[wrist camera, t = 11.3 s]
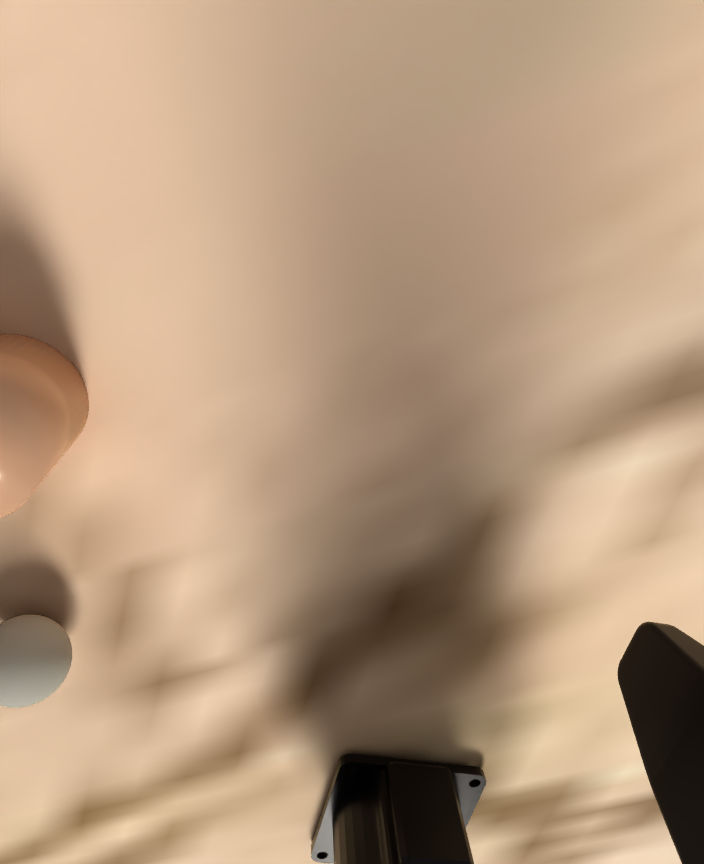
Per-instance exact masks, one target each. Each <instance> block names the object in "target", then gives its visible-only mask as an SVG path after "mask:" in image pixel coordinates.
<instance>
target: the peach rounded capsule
mask: <svg viewBox="0 0 704 864" xmlns="http://www.w3.org/2000/svg"><path fill="white" fill-rule="evenodd" d="M88 411H89V400H88V394H87V390H86V387H85V384H84V382H83V380H82V378H81V376H80V374H79V373H78V371H77V370H76V368H75V367H74V366H73V364H72V363H71V362H70V361H69V360H68V359H67V358H66V357H65V356H64V355H62V354H61V353H60V352H59V351H57V350H56V349H54V348H53V347H51V346H50V345H48V344H46V343H44V342H42V341H39V340H36V339H34V338H30V337H26V336H22V335H13V334H4V335H0V517H3V516H6V515H8V514H10V513H11V512H13V511H15V510H16V509H18V508H19V507H20V506H22V505H23V504H24V503H25V502H26V501H27V500H28V499H29V497H30V496H31V495H32V494H33V492H34V491H35V490H36V489H37V487H38V486H39V485H40V484H41V482H42V481H43V480H44V479H45V477H46V476H47V475H48V474H49V472H50V471H51V470H52V469H53V467H54V466H55V465H56V463H57V462H58V461H59V460H60V458H61V457H62V456H63V455H64V453H65V452H66V451H67V450H68V448H69V447H70V446H71V445H72V443H73V442H74V441H75V440H76V438H77V437H78V436H79V434H80V433H81V432H82V430H83V428H84V426H85V424H86V421H87V418H88Z"/></svg>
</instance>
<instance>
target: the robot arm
mask: <svg viewBox="0 0 704 864" xmlns="http://www.w3.org/2000/svg"><path fill="white" fill-rule="evenodd" d="M618 681H619V685H620V688H621V691H622V695H623V698H624V701H625V705H626V708H627V711H628V714H629V718H630V721H631V724H632V727H633V731H634V734H635V737H636V740H637V744H638V747H639V750H640V753H641V757H642V760H643V763H644V767H645V770H646V773H647V776H648V779H649V782H650V785H651V787H652V790H653V793H654V795H655V798H656V800H657V803H658V806H659V808H660V811H661V813H662V815H663V818H664V820H665V823H666V825H667V828H668V830H669V833H670V835H671V838H672V840H673V842H674V845H675V847H676V850H677V852H678V855H679V857H680V860H681V862H682V864H704V646H703V645H702V644H700V643H699V642H697V641H696V640H694V639H693V638H691V637H690V636H688V635H687V634H685V633H684V632H682V631H681V630H679V629H677V628H676V627H674V626H671V625H668V624H661V623H654V622H645V623H643V624H641V625H640V626H639V627H638V628H637V630H636V632H635V634H634V636H633V638H632V640H631V642H630V643H629V645H628V647H627V649H626V651H625V653H624V655H623V657H622V659H621V661H620V663H619V667H618ZM485 785H486V779H485V775H484V772H483V770H482V769H480V768H478V767H471V766H462V765H453V764H444V763H434V762H425V761H416V760H407V759H398V758H388V757H379V756H370V755H361V754H346V755H344V756H342V757H341V758H340V759H339V761H338V764H337V768H336V771H335V774H334V777H333V780H332V783H331V786H330V789H329V792H328V795H327V798H326V802H325V805H324V808H323V811H322V814H321V817H320V820H319V823H318V826H317V829H316V832H315V836H314V839H313V842H312V845H311V858H312V859H313V860H314V861H316V862H320V863H332V864H474V862H473V857H472V853H471V849H470V845H469V841H468V837H467V833H466V829H465V828H466V826H467V824H468V822H469V820H470V818H471V815H472V813H473V811H474V809H475V807H476V804H477V802H478V800H479V798H480V796H481V794H482V791H483V789H484V787H485Z"/></svg>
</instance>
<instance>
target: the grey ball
mask: <svg viewBox="0 0 704 864" xmlns="http://www.w3.org/2000/svg"><path fill="white" fill-rule="evenodd" d="M71 661H72V646H71V642H70V639H69V637H68V635H67V633H66V632H65V630H64V629H63V628H62V627H61V626H60V625H59V624H58V623H57V622H55V621H54V620H52V619H50V618H47V617H44V616H40V615H21V616H16V617H13V618H10V619H8V620H6V621H4V622H2V623H0V706H4V707H10V708H20V707H26V706H30V705H33V704H36V703H38V702H40V701H42V700H44V699H46V698H47V697H49V696H50V695H51V694H52V693H54V692H55V691H56V690H57V689H58V688H59V686H60V685H61V684H62V683H63V681H64V679H65V678H66V676H67V674H68V672H69V669H70V666H71Z"/></svg>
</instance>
